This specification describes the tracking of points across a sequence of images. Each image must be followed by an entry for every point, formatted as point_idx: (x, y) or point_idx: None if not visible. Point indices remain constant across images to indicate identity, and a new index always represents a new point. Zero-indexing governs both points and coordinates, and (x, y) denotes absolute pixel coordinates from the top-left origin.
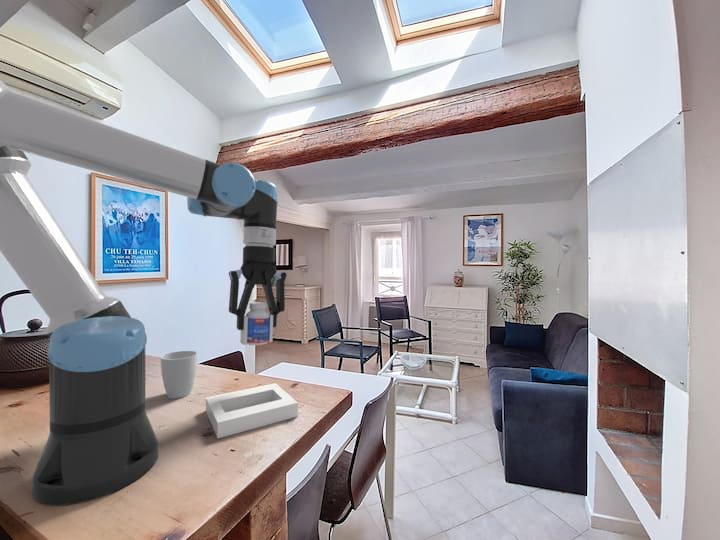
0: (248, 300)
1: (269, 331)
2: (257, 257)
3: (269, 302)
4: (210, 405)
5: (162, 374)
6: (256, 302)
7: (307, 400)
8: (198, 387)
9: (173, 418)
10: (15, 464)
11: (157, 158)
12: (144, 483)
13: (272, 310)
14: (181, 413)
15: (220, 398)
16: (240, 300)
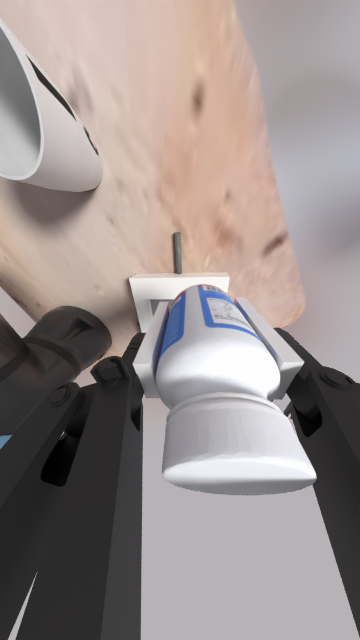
0: (137, 526)
1: None
2: None
3: (329, 498)
4: (136, 306)
5: (10, 154)
6: (244, 467)
7: None
8: (111, 127)
9: (103, 274)
10: (12, 295)
11: None
12: (112, 354)
13: (295, 424)
14: (109, 264)
15: (147, 292)
16: (61, 505)
